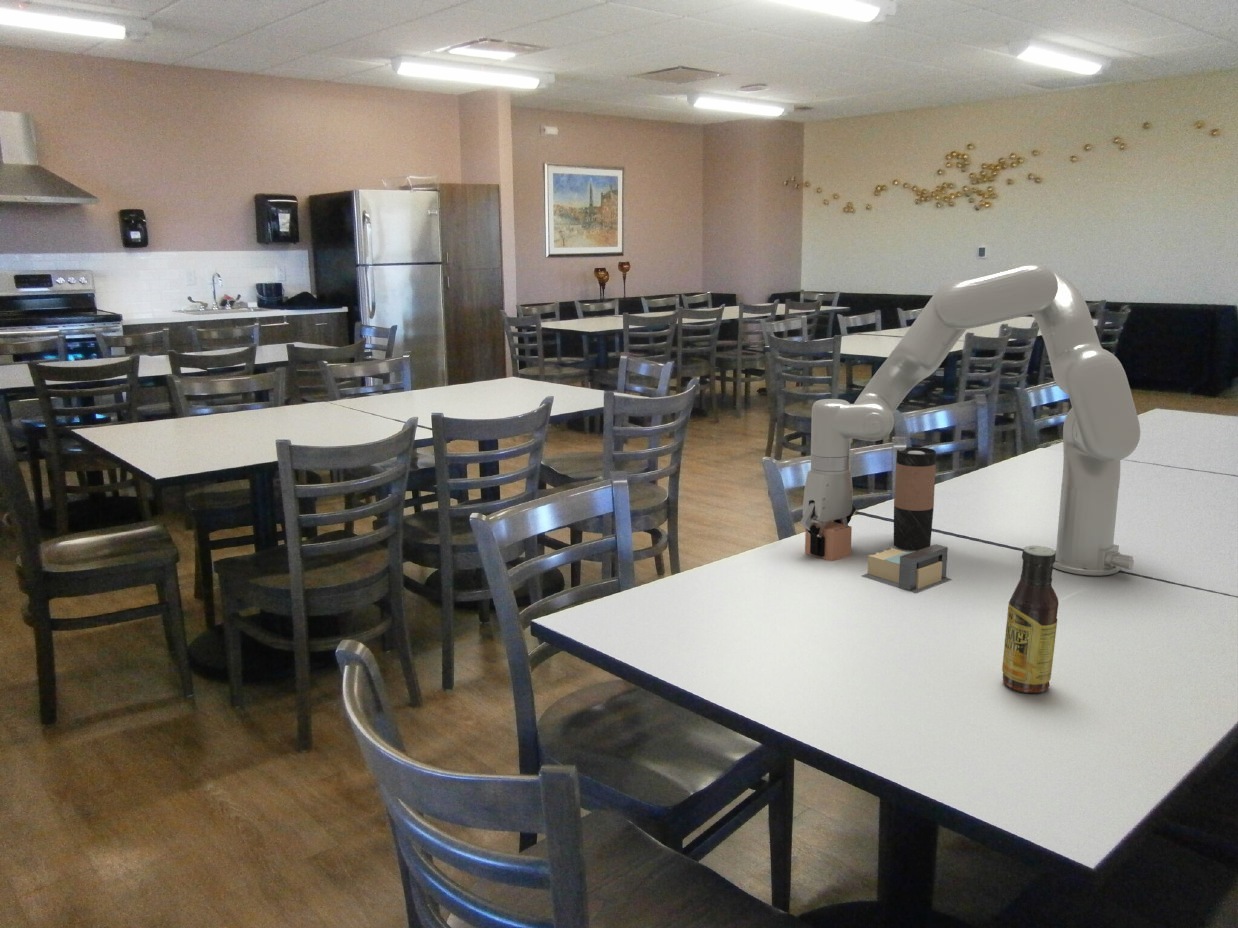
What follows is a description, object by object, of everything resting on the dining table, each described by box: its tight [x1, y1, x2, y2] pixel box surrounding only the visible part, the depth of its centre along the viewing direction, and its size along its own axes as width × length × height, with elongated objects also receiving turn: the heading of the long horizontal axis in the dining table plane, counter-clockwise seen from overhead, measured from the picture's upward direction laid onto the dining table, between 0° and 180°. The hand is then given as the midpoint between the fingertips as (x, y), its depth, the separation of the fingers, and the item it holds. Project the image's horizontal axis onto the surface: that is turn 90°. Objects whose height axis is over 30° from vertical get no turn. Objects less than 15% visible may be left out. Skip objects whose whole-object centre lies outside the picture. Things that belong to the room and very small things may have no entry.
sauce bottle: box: [1001, 545, 1059, 694], centre depth 128 cm, size 6×6×20 cm
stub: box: [804, 521, 853, 562], centre depth 187 cm, size 7×6×6 cm
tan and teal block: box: [867, 547, 942, 589], centre depth 173 cm, size 11×7×4 cm, turn 37°
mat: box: [861, 572, 953, 594], centre depth 173 cm, size 12×11×1 cm
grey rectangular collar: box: [898, 544, 949, 592], centre depth 170 cm, size 2×11×6 cm, turn 128°
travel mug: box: [893, 446, 937, 552], centre depth 189 cm, size 8×8×20 cm
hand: (827, 550), depth 187 cm, fingers closed on stub, 5 cm apart
